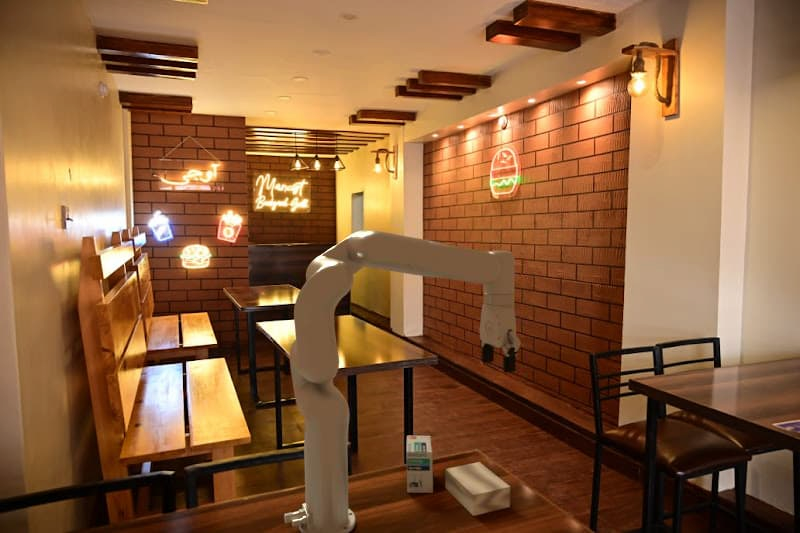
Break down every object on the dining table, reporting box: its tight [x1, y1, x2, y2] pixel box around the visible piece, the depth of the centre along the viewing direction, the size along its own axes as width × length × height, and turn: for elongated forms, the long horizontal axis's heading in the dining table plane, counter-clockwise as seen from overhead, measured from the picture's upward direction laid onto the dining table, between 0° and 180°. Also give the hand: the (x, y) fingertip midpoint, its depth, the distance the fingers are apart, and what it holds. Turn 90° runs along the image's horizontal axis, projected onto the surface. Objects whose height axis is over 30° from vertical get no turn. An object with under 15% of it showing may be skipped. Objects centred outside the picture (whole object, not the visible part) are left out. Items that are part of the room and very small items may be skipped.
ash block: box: [444, 461, 511, 517], centre depth 129 cm, size 10×14×5 cm
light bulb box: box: [405, 435, 434, 494], centre depth 136 cm, size 11×7×11 cm, turn 179°
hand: (498, 366), depth 132 cm, fingers open, 9 cm apart
